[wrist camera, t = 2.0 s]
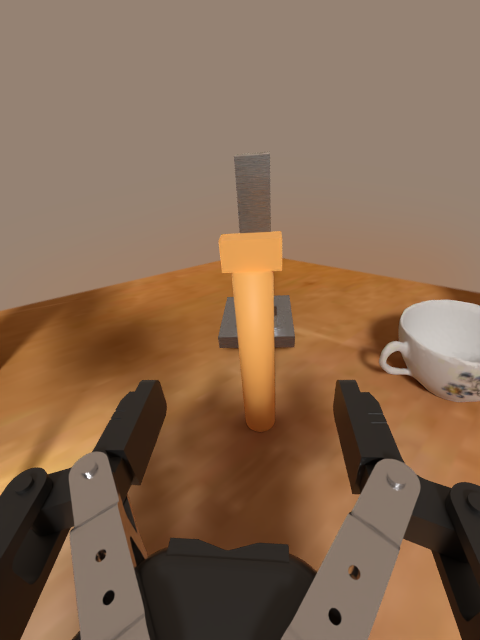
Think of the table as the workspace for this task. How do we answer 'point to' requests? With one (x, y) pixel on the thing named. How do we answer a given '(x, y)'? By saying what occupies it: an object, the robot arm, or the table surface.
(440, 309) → the teacup
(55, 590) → the table surface
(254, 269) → the wedge pin
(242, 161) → the scaffold post with crossbars
